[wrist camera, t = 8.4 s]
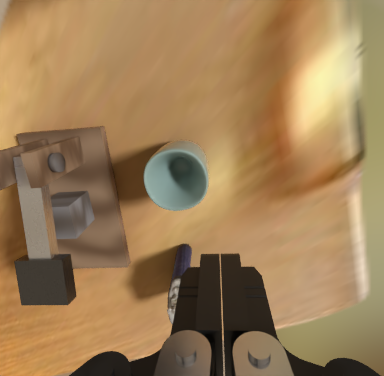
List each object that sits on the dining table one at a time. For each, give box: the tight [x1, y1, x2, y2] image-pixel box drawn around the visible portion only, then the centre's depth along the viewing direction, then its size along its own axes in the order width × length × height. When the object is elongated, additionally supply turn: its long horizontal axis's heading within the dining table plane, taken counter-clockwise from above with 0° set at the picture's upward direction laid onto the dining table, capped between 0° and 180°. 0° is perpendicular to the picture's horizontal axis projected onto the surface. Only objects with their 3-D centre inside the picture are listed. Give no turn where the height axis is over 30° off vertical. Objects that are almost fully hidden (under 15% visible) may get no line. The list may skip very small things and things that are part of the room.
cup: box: [144, 140, 209, 211], centre depth 36 cm, size 8×8×10 cm
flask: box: [167, 244, 192, 324], centre depth 42 cm, size 9×3×11 cm, turn 176°
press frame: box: [0, 126, 130, 269], centre depth 39 cm, size 24×13×12 cm, turn 5°
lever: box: [13, 157, 76, 305], centre depth 34 cm, size 19×6×2 cm, turn 5°
